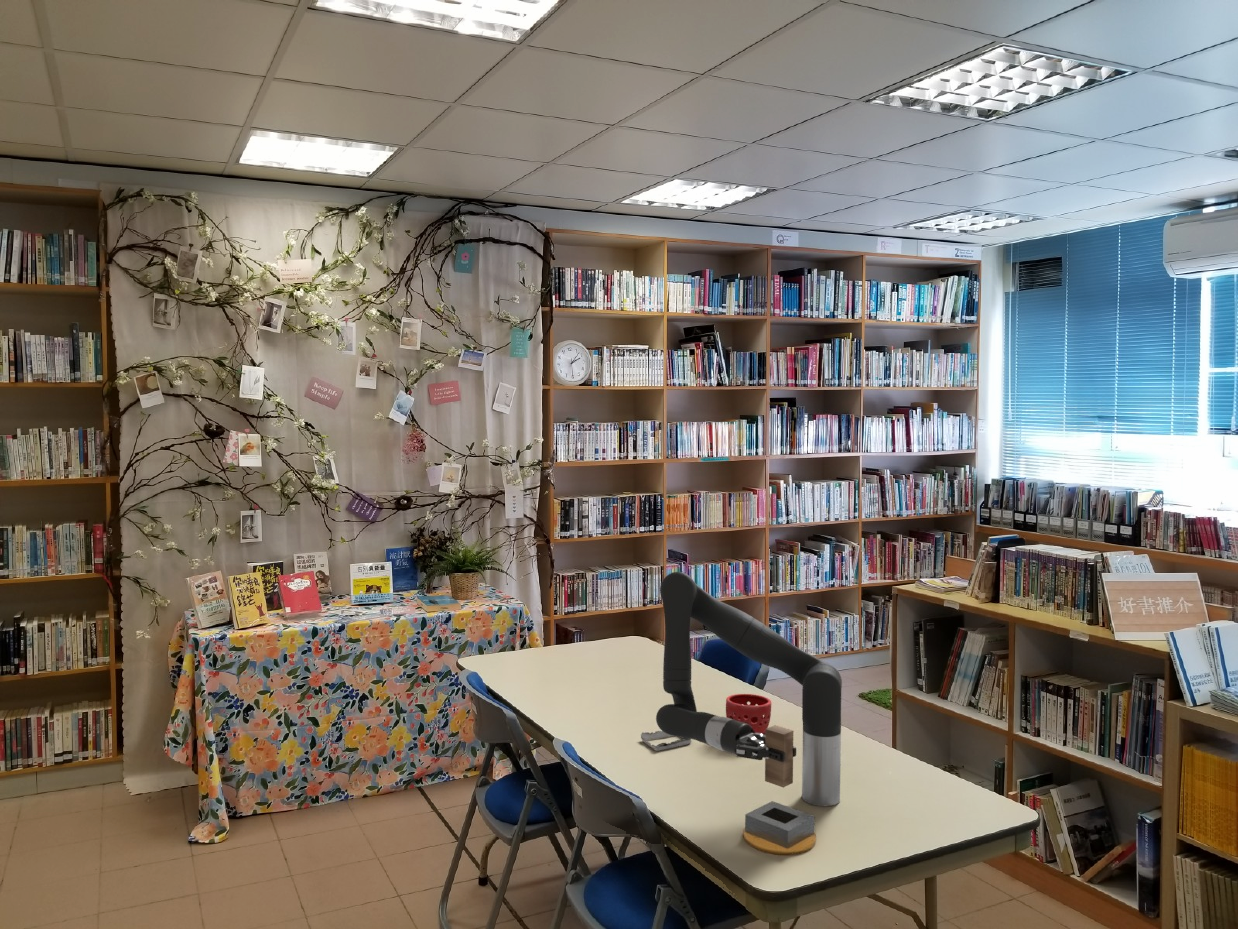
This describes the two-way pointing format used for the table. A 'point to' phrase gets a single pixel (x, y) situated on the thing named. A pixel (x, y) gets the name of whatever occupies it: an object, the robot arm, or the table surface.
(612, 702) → the table surface
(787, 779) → the brown wooden block
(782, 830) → the grey socket block
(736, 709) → the plant pot
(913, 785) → the table surface
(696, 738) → the robot arm
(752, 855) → the table surface
